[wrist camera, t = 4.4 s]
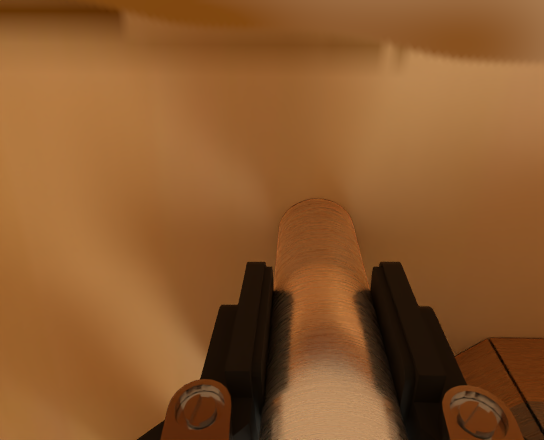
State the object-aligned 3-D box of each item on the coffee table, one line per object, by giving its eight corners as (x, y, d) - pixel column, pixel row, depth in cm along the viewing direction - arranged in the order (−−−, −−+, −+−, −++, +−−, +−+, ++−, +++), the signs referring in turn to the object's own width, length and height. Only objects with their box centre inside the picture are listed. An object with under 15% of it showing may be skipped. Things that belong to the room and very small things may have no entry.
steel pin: (319, 274, 16) (358, 764, 6) (263, 236, 15) (187, 720, 5) (369, 228, 15) (540, 748, 4) (311, 184, 14) (348, 681, 4)
